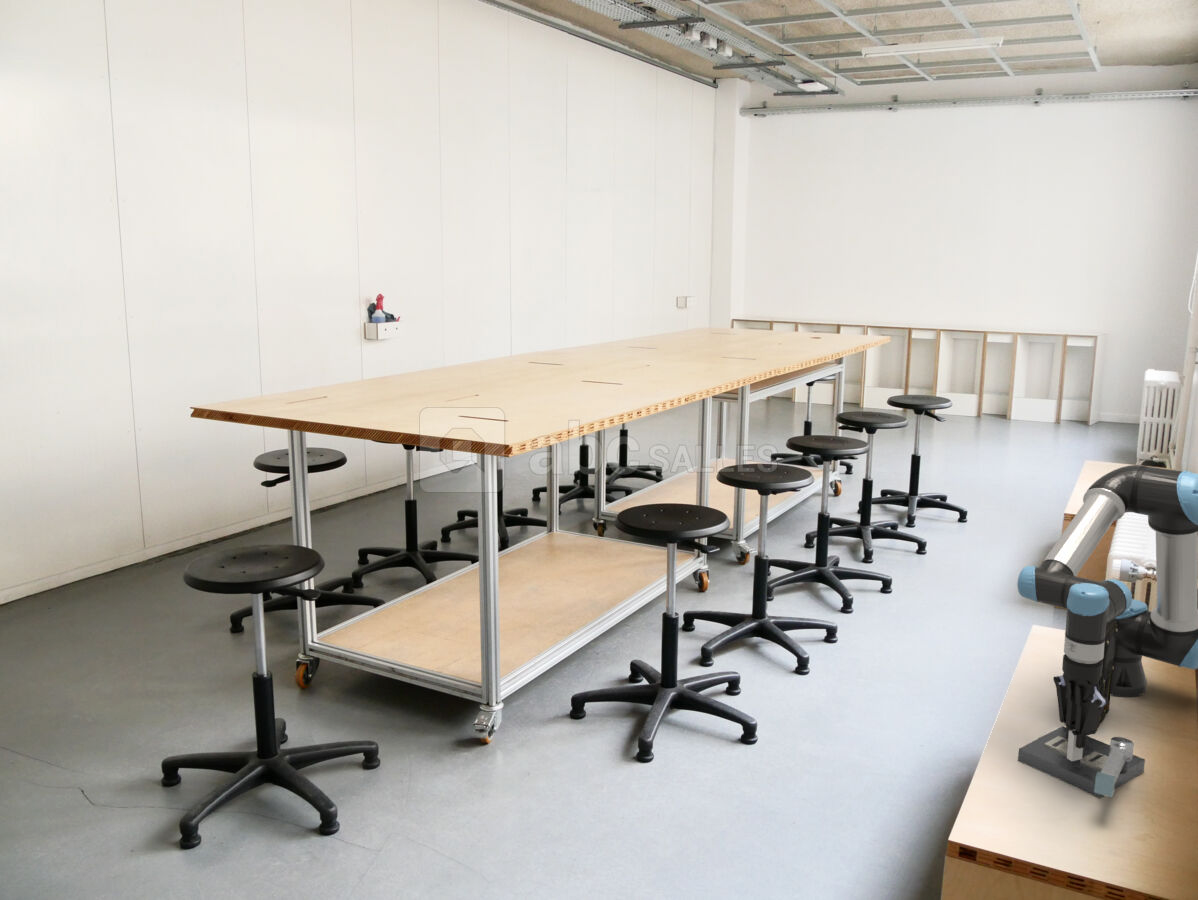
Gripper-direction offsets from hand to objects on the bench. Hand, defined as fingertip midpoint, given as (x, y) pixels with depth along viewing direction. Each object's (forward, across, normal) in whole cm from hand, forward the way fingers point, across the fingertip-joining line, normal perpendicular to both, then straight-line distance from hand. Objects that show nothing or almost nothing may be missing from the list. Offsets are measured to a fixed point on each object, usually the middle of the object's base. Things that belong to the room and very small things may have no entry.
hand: (1074, 758), depth 206 cm
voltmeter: (+7, -22, +26) cm, 35 cm away
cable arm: (0, +7, +3) cm, 8 cm away
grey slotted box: (+6, -5, +7) cm, 11 cm away
